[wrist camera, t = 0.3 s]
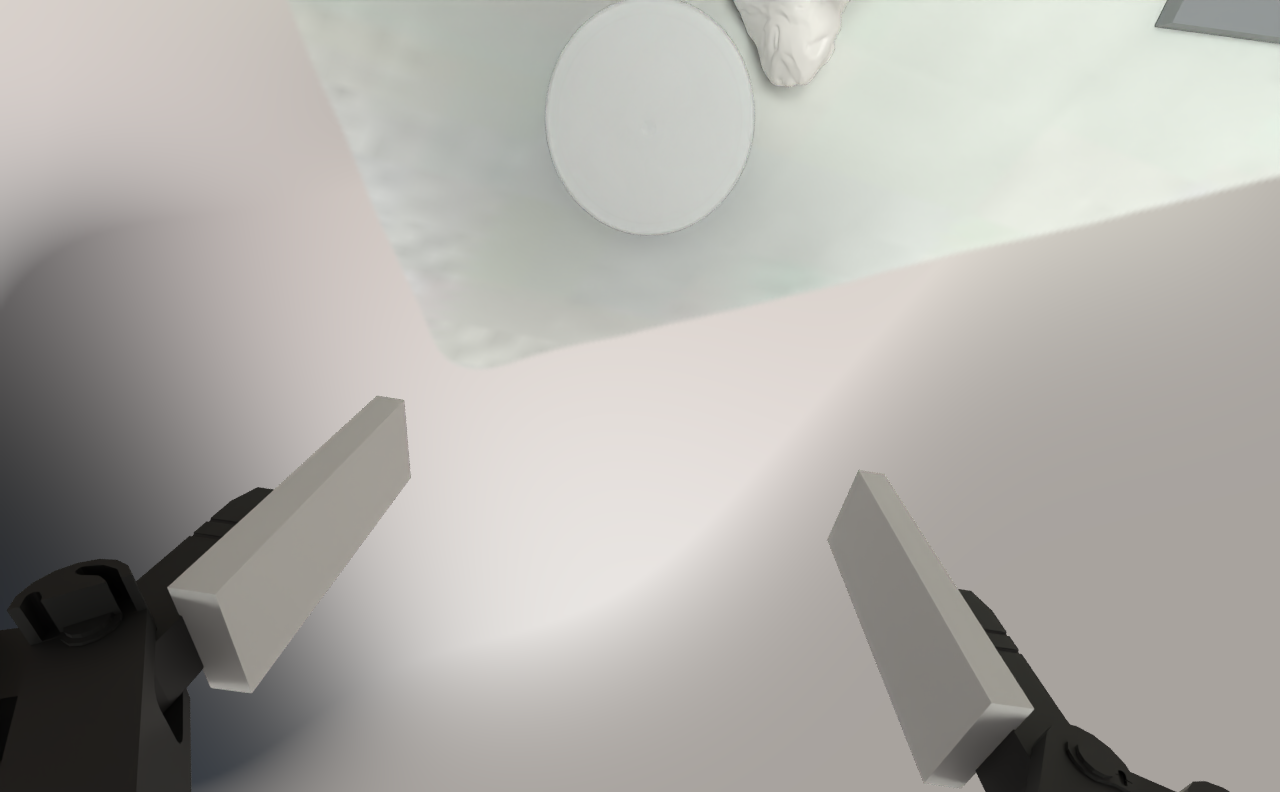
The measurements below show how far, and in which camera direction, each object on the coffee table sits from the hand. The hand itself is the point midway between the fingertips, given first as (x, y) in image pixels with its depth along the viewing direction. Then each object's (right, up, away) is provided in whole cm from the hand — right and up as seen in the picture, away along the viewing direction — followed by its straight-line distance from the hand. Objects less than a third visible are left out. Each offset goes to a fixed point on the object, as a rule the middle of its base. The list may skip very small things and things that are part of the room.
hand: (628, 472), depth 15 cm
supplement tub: (+1, +21, +20) cm, 29 cm away
